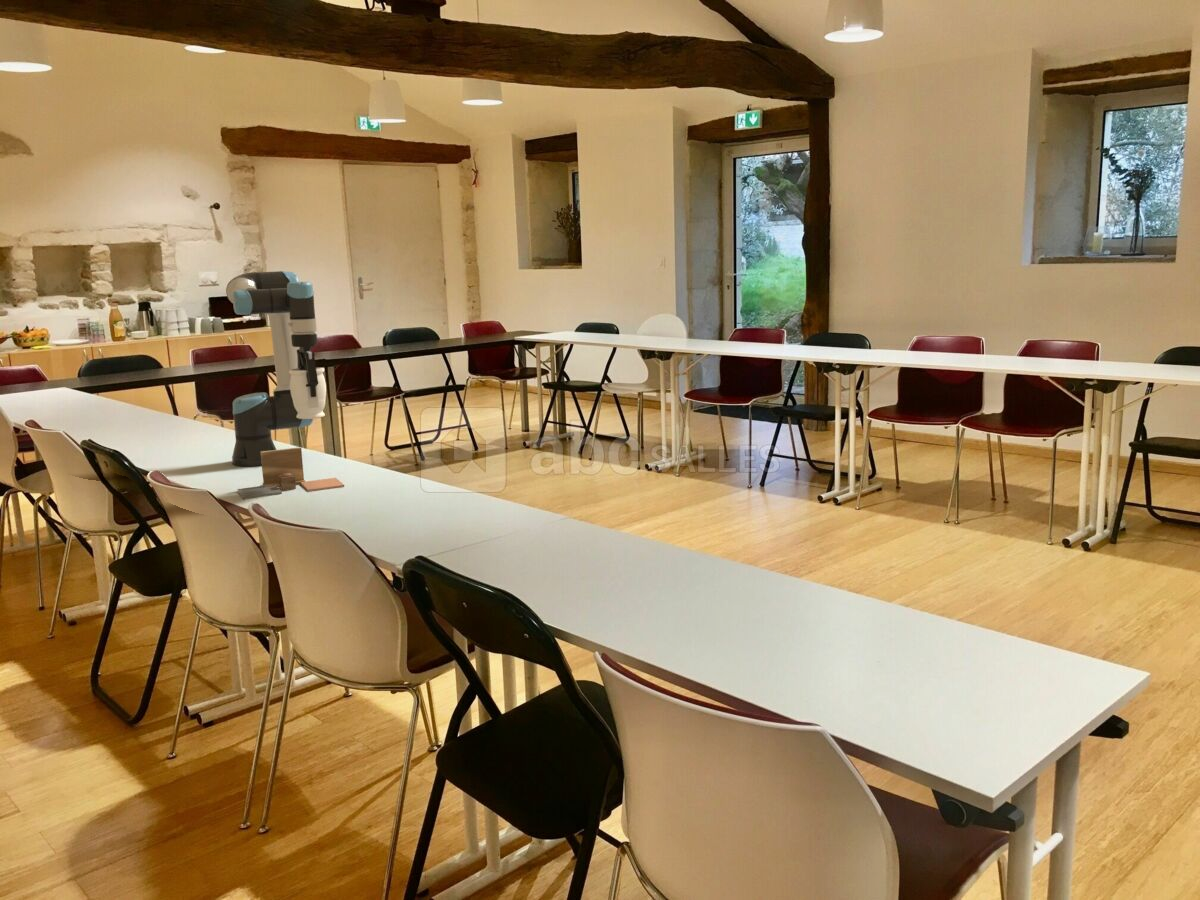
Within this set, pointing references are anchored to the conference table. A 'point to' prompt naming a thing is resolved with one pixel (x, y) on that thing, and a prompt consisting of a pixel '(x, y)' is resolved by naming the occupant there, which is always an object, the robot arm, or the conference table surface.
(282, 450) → the oak screen
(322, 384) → the jar
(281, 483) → the letter cube
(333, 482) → the pad terracotta
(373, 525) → the conference table surface
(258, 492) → the pad slate
